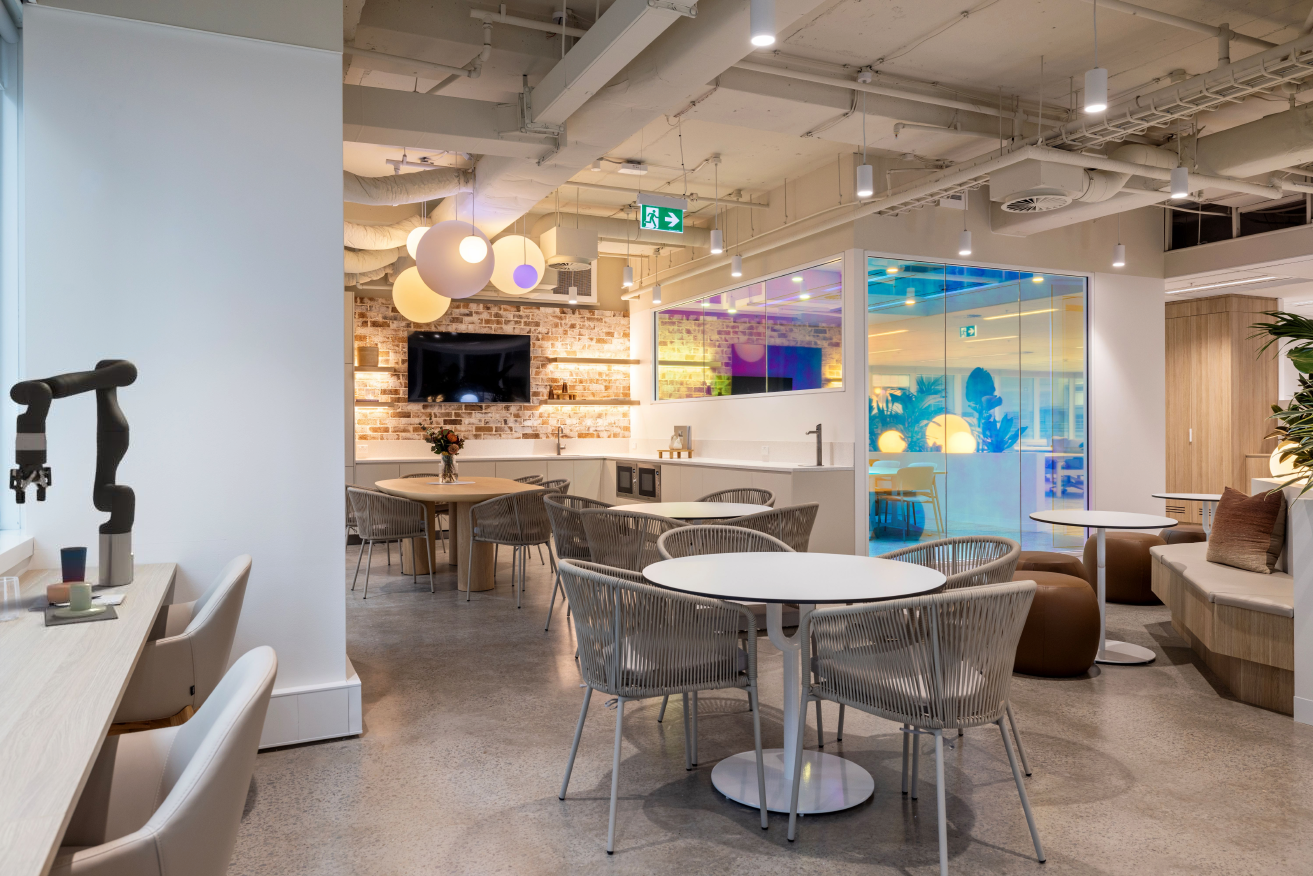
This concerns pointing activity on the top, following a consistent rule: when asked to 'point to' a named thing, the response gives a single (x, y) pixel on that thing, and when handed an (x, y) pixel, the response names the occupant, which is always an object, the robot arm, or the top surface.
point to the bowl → (61, 592)
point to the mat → (54, 620)
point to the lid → (80, 603)
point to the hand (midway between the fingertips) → (31, 502)
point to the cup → (73, 564)
